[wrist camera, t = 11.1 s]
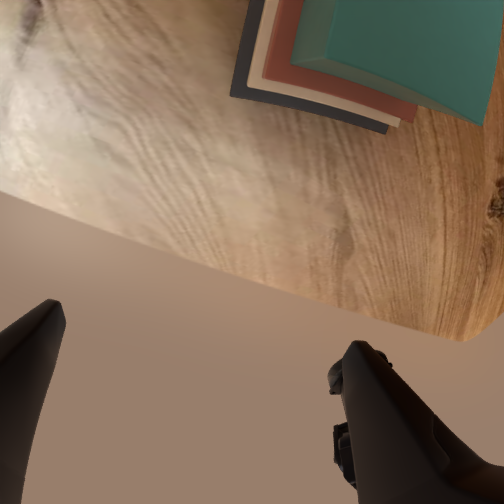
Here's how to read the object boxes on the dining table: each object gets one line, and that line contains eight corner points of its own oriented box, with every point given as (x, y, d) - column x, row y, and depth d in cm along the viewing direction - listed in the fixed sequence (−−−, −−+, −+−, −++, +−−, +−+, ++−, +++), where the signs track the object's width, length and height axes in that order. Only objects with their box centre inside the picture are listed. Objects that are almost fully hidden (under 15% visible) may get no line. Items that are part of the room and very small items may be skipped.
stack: (369, 127, 18) (426, 158, 12) (230, 93, 16) (224, 104, 10) (398, 7, 13) (463, -8, 7) (259, -36, 12) (270, -86, 6)
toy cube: (404, 101, 10) (482, 127, 6) (288, 64, 10) (323, 57, 5) (425, 3, 8) (505, -9, 3) (313, -43, 7) (355, -97, 3)
